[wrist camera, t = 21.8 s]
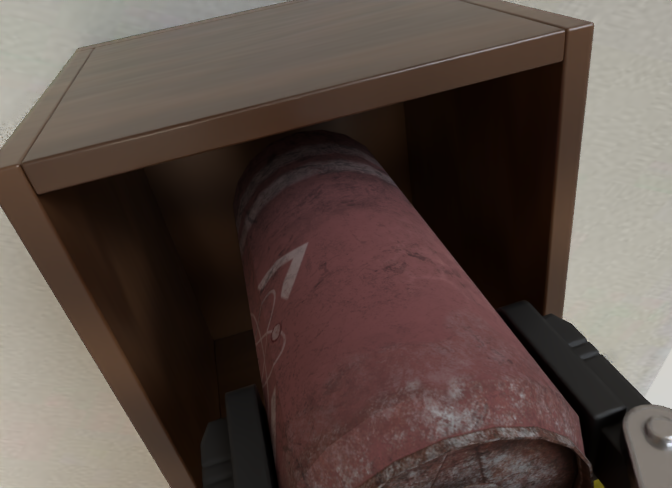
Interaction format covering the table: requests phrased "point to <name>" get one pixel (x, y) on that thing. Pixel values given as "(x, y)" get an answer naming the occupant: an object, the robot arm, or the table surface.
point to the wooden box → (256, 134)
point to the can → (384, 338)
